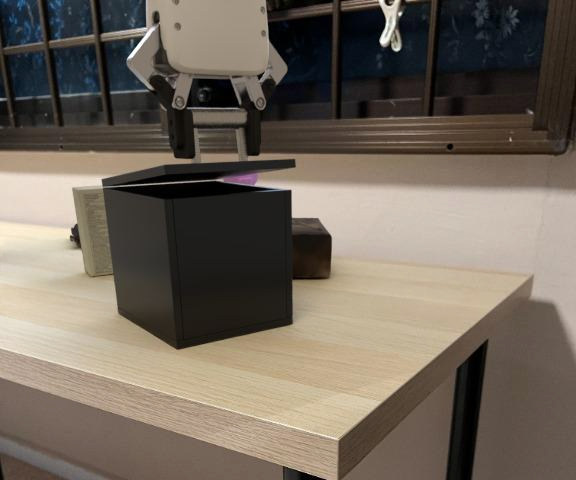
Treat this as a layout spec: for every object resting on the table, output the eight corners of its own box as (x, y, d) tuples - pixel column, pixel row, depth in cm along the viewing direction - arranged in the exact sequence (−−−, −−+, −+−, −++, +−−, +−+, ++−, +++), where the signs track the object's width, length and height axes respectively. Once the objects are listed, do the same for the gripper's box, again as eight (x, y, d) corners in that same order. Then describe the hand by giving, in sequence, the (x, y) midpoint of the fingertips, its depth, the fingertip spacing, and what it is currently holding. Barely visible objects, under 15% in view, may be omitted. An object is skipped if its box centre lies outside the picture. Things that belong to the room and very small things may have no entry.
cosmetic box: (124, 267, 93) (115, 184, 89) (133, 272, 90) (123, 186, 85) (82, 271, 91) (70, 186, 86) (89, 277, 87) (77, 188, 82)
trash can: (293, 324, 65) (291, 189, 60) (177, 349, 58) (164, 199, 53) (221, 294, 77) (215, 180, 72) (117, 313, 70) (102, 187, 65)
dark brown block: (320, 253, 102) (320, 212, 99) (333, 279, 84) (334, 231, 82) (272, 254, 101) (271, 213, 99) (275, 281, 84) (274, 232, 81)
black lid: (296, 167, 59) (291, 104, 57) (165, 174, 51) (155, 102, 50) (215, 179, 72) (209, 128, 70) (102, 187, 64) (93, 130, 63)
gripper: (267, -51, 57) (272, 153, 64) (85, -82, 48) (113, 159, 55) (315, -72, 52) (315, 154, 59) (119, -111, 43) (146, 162, 50)
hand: (217, 155), depth 57 cm, fingers closed on black lid, 6 cm apart
